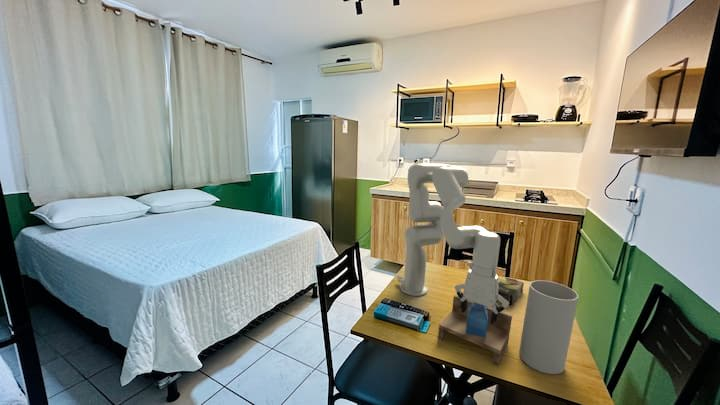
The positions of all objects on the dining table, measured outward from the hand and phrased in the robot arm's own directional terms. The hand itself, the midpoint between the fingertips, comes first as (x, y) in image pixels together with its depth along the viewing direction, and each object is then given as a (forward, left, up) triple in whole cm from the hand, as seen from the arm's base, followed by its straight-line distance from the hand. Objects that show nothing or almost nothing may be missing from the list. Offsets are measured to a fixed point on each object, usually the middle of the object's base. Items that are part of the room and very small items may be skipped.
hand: (477, 316), depth 98 cm
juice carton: (0, +45, -11) cm, 47 cm away
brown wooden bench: (-1, +1, -11) cm, 11 cm away
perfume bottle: (0, 0, -5) cm, 5 cm away
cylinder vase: (+19, +6, -11) cm, 23 cm away
